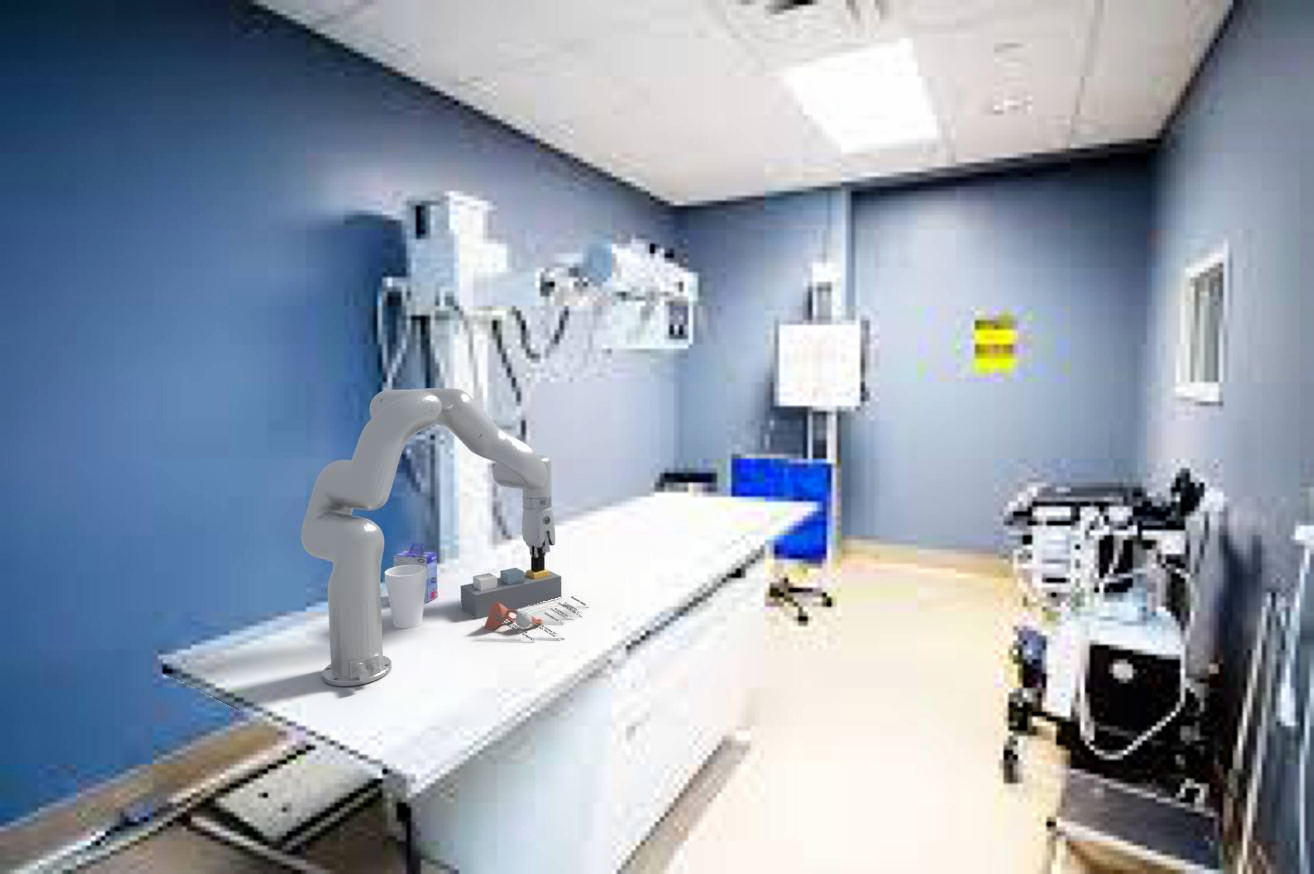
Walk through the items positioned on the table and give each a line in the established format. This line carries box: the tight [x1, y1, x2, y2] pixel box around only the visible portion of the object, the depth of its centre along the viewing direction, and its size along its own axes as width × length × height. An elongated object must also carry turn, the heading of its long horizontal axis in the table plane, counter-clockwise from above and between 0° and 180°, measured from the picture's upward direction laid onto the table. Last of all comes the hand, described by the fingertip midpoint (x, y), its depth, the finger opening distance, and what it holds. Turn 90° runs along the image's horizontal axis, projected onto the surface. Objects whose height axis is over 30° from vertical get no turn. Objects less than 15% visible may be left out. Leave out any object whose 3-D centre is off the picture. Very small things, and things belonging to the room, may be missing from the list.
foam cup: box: [384, 565, 428, 630], centre depth 160 cm, size 10×9×13 cm
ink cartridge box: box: [393, 542, 438, 604], centre depth 178 cm, size 10×6×14 cm, turn 78°
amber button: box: [526, 568, 550, 579], centre depth 180 cm, size 4×4×4 cm
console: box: [460, 569, 562, 620], centre depth 175 cm, size 9×24×6 cm, turn 130°
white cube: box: [472, 572, 498, 591], centre depth 170 cm, size 4×4×4 cm
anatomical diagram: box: [483, 595, 586, 641], centre depth 163 cm, size 20×9×25 cm
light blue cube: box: [499, 567, 525, 585], centre depth 175 cm, size 4×4×4 cm
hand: (537, 570), depth 179 cm, fingers closed
